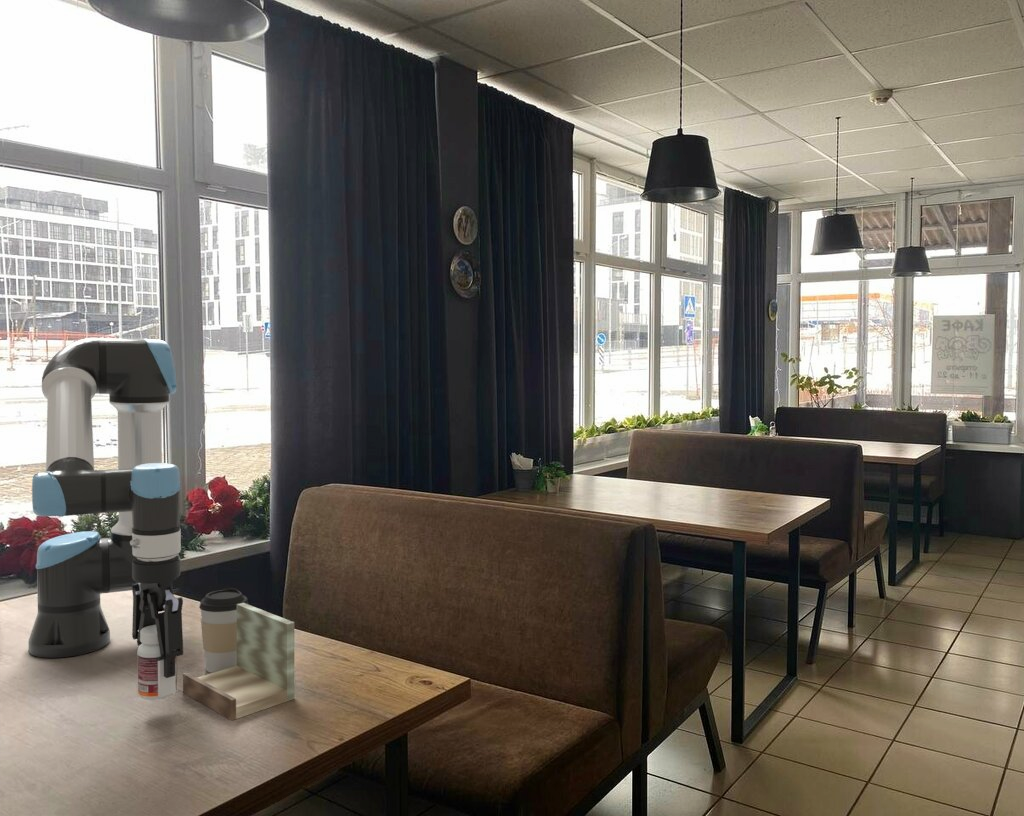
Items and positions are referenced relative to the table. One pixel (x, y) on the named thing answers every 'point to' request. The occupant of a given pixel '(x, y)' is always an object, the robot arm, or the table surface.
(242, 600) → the coffee cup
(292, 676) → the wooden l-shaped piece
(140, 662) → the pill bottle
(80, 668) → the table surface
